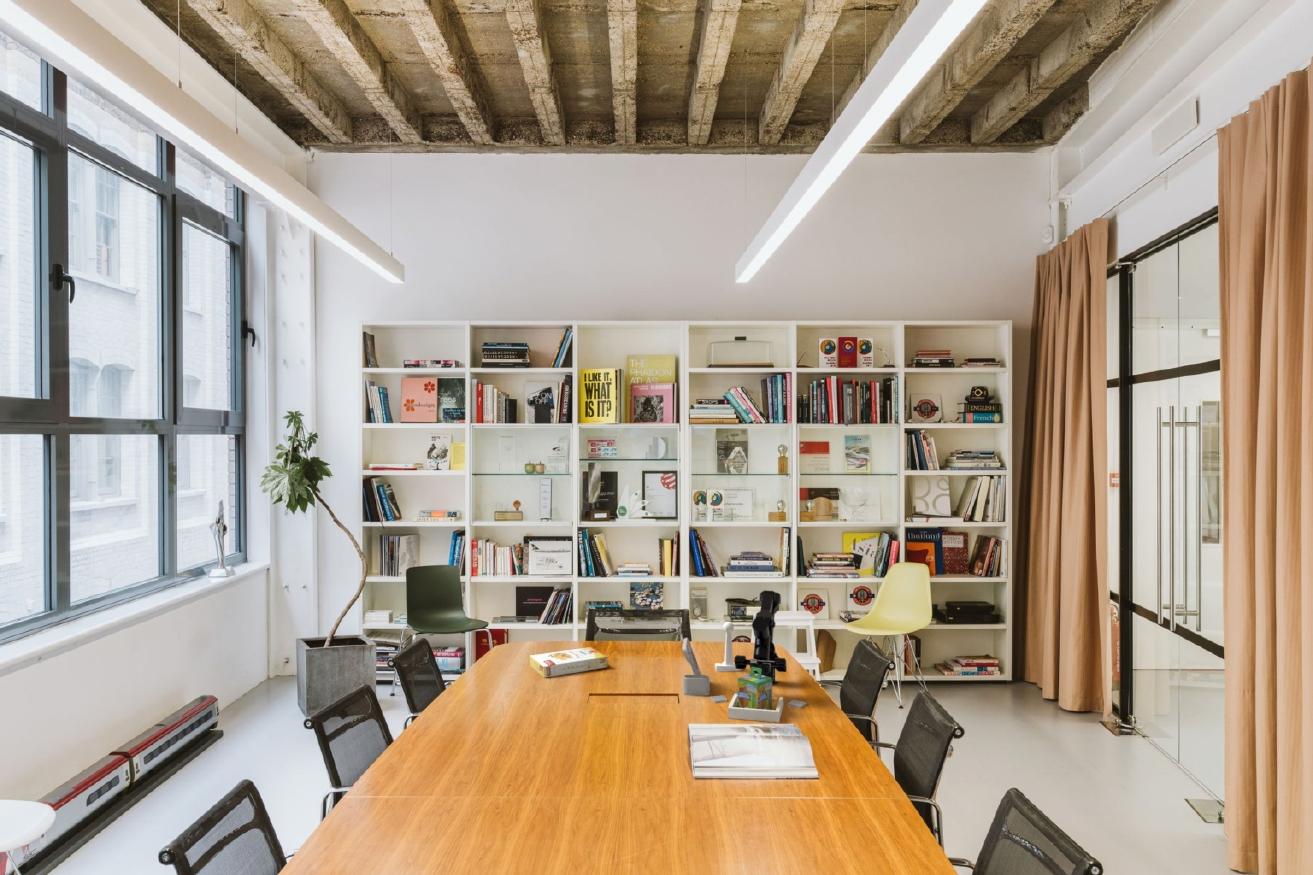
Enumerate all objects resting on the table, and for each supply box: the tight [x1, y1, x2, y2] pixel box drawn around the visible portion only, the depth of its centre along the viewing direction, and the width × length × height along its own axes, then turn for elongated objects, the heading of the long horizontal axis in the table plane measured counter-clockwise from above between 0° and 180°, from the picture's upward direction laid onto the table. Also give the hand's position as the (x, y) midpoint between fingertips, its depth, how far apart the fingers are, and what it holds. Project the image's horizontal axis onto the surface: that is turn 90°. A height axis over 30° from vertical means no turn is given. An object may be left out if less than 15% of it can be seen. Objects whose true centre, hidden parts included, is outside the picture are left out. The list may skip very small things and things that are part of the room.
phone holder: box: [681, 637, 711, 696], centre depth 296 cm, size 17×10×18 cm, turn 176°
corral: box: [727, 693, 784, 723], centre depth 269 cm, size 15×17×4 cm
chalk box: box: [737, 667, 773, 710], centre depth 271 cm, size 9×9×15 cm
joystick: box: [714, 621, 743, 673], centre depth 320 cm, size 11×8×20 cm
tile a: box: [787, 699, 808, 709], centre depth 276 cm, size 5×5×1 cm
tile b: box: [709, 694, 729, 704], centre depth 282 cm, size 5×5×1 cm
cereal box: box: [529, 646, 608, 679], centre depth 325 cm, size 20×6×28 cm
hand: (758, 684), depth 276 cm, fingers closed
